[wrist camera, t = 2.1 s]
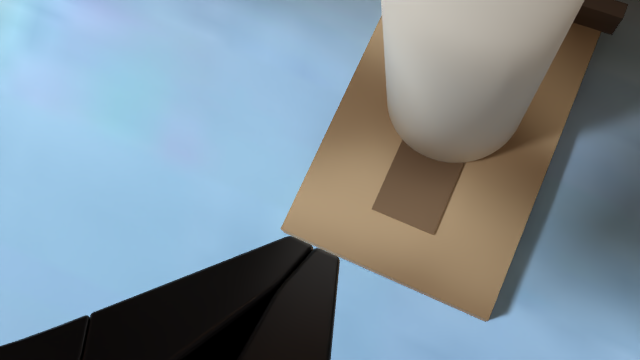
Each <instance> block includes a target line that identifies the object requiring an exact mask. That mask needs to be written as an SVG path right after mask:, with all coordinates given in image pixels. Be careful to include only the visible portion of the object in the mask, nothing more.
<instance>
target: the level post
mask: <svg viewBox="0 0 640 360" xmlns="http://www.w3.org/2000/svg"><path fill="white" fill-rule="evenodd" d="M583 2H584V0H381V7H382V24H383V40H384V57H385V73H386V90H387V107H388V112H389V116H390V119H391V122H392V124H393V126H394V128H395V130H396V132H397V133H398V134H399V136H400V137H401V138H402V139H403V141H404V142H405V143H406V144H407V145H409V146H410V147H411V148H412V149H413V150H415V151H417V152H418V153H420V154H422V155H424V156H426V157H428V158H431V159H434V160H437V161H442V162H449V163H464V162H470V161H475V160H478V159H481V158H484V157H486V156H488V155H490V154H492V153H494V152H495V151H497V150H499V149H500V148H501V147H502V146H503V145H505V144H506V143H507V142H508V141H509V139H510V138H511V137H512V136H513V134H514V133H515V131H516V130H517V128H518V126H519V124H520V122H521V120H522V119H523V117H524V115H525V113H526V111H527V109H528V107H529V105H530V103H531V101H532V99H533V98H534V96H535V94H536V92H537V90H538V88H539V86H540V84H541V82H542V80H543V79H544V77H545V75H546V73H547V71H548V69H549V67H550V65H551V63H552V61H553V59H554V58H555V56H556V54H557V52H558V50H559V48H560V46H561V44H562V42H563V40H564V38H565V37H566V35H567V33H568V31H569V29H570V27H571V25H572V23H573V21H574V19H575V17H576V16H577V14H578V12H579V10H580V8H581V6H582V4H583Z"/></svg>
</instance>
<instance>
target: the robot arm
mask: <svg viewBox="0 0 640 360" xmlns="http://www.w3.org/2000/svg"><path fill="white" fill-rule="evenodd" d="M339 263H340V260H339V258H338V257H337V256H335V255H333V254H331V253H329V252H326V251H324V250H322V249H319V248H316V249H313V247H312V245H310V244H308V243H306V242H304V241H302V240H299V239H297V238H295V237H292V236H287V237H284V238H282V239H279V240H277V241H274V242H272V243H269V244H266V245H264V246H261V247H259V248H256V249H254V250H251V251H249V252H246V253H243V254H241V255H238V256H236V257H233V258H231V259H228V260H226V261H223V262H221V263H218V264H215V265H213V266H210V267H208V268H205V269H203V270H200V271H198V272H195V273H192V274H190V275H187V276H185V277H182V278H180V279H177V280H175V281H172V282H170V283H167V284H164V285H162V286H159V287H157V288H154V289H152V290H149V291H147V292H144V293H142V294H139V295H136V296H134V297H131V298H129V299H126V300H124V301H121V302H119V303H116V304H113V305H111V306H108V307H106V308H103V309H101V310H98V311H96V312H93V313H92V314H91V315H90V317H89V316H87V315H85V316H82V317H80V318H77V319H75V320H72V321H70V322H67V323H64V324H62V325H59V326H57V327H54V328H51V329H48V330H46V331H43V332H40V333H37V334H35V335H32V336H29V337H26V338H24V339H21V340H18V341H15V342H12V343H8V344H5V345H2V346H0V360H330V359H331V349H332V338H333V327H334V317H335V306H336V295H337V285H338V274H339Z"/></svg>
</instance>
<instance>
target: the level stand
mask: <svg viewBox="0 0 640 360" xmlns="http://www.w3.org/2000/svg"><path fill="white" fill-rule="evenodd" d="M627 6H628V4H625V3H622V2H619V1H616V0H584V2H583V4H582V6H581V8H580V10H579V12H578V14H577V16H576V17H575V19H574V21H573V23H572V25H571V27H570V29H569V31H568V33H567V35H566V37H565V38H564V40H563V42H562V44H561V46H560V48H559V50H558V52H557V54H556V56H555V58H554V59H553V61H552V63H551V65H550V67H549V69H548V71H547V73H546V75H545V77H544V79H543V80H542V82H541V84H540V86H539V88H538V90H537V92H536V94H535V96H534V98H533V99H532V101H531V103H530V105H529V107H528V109H527V111H526V113H525V115H524V117H523V119H522V120H521V122H520V124H519V126H518V128H517V130H516V131H515V133H514V134H513V136H512V137H511V138H510V139H509V141H508V142H507V143H506V144H505V145H503V146H502V147H501V148H500V149H499V150H497V151H495V152H494V153H492V154H490V155H488V156H486V157H484V158H481V159H478V160H475V161H470V162H464V163H449V162H442V161H437V160H434V159H431V158H428V157H426V156H424V155H422V154H420V153H418V152H417V151H415V150H413V149H412V148H411V147H410V146H409V145H407V144H406V143H405V142H404V141H403V139H402V138H401V137H400V136H399V134H398V133H397V132H396V130H395V128H394V126H393V124H392V122H391V119H390V116H389V112H388V107H387V90H386V73H385V57H384V40H383V24H382V16H381V18H380V20H379V22H378V24H377V27H376V29H375V31H374V33H373V35H372V37H371V39H370V41H369V43H368V46H367V48H366V50H365V52H364V54H363V56H362V58H361V60H360V62H359V64H358V67H357V69H356V71H355V73H354V75H353V77H352V79H351V81H350V83H349V86H348V88H347V90H346V92H345V94H344V96H343V98H342V100H341V102H340V105H339V107H338V109H337V111H336V113H335V115H334V117H333V119H332V121H331V124H330V126H329V128H328V130H327V132H326V134H325V136H324V138H323V140H322V143H321V145H320V147H319V149H318V151H317V153H316V155H315V157H314V159H313V162H312V164H311V166H310V168H309V170H308V172H307V174H306V176H305V178H304V181H303V183H302V185H301V187H300V189H299V191H298V193H297V195H296V197H295V200H294V202H293V204H292V206H291V208H290V210H289V212H288V214H287V216H286V219H285V221H284V223H283V225H282V227H281V230H282V231H283V232H284V233H286V234H289V235H291V236H293V237H295V238H298V239H300V240H302V241H304V242H307V243H309V244H311V245H313V246H316V247H318V248H320V249H322V250H325V251H327V252H329V253H332V254H334V255H336V256H338V257H341V258H343V259H345V260H347V261H350V262H352V263H354V264H356V265H359V266H361V267H363V268H365V269H368V270H370V271H372V272H374V273H377V274H379V275H381V276H383V277H386V278H388V279H390V280H392V281H395V282H397V283H399V284H401V285H404V286H406V287H408V288H410V289H413V290H415V291H417V292H419V293H422V294H424V295H426V296H429V297H431V298H433V299H435V300H438V301H440V302H442V303H444V304H447V305H449V306H451V307H453V308H456V309H458V310H460V311H462V312H465V313H467V314H469V315H471V316H474V317H476V318H478V319H480V320H483V321H485V322H486V321H488V320H489V317H490V315H491V312H492V310H493V307H494V305H495V302H496V300H497V297H498V294H499V292H500V289H501V287H502V284H503V282H504V279H505V276H506V274H507V271H508V269H509V266H510V264H511V261H512V259H513V256H514V253H515V251H516V248H517V246H518V243H519V241H520V238H521V236H522V233H523V230H524V228H525V225H526V223H527V220H528V218H529V215H530V212H531V210H532V207H533V205H534V202H535V200H536V197H537V195H538V192H539V189H540V187H541V184H542V182H543V179H544V177H545V174H546V172H547V169H548V166H549V164H550V161H551V159H552V156H553V154H554V151H555V148H556V146H557V143H558V141H559V138H560V136H561V133H562V131H563V128H564V125H565V123H566V120H567V118H568V115H569V113H570V110H571V108H572V105H573V102H574V100H575V97H576V95H577V92H578V90H579V87H580V85H581V82H582V79H583V77H584V74H585V72H586V69H587V67H588V64H589V61H590V59H591V56H592V54H593V51H594V49H595V46H596V44H597V41H598V38H599V36H600V33H601V32H604V33H608V34H611V35H612V34H613V32H614V31H615V29H616V28H617V27H618V25H619V24H620V22H621V21H622V19H623V17H624V14H625V12H626V9H627Z"/></svg>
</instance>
